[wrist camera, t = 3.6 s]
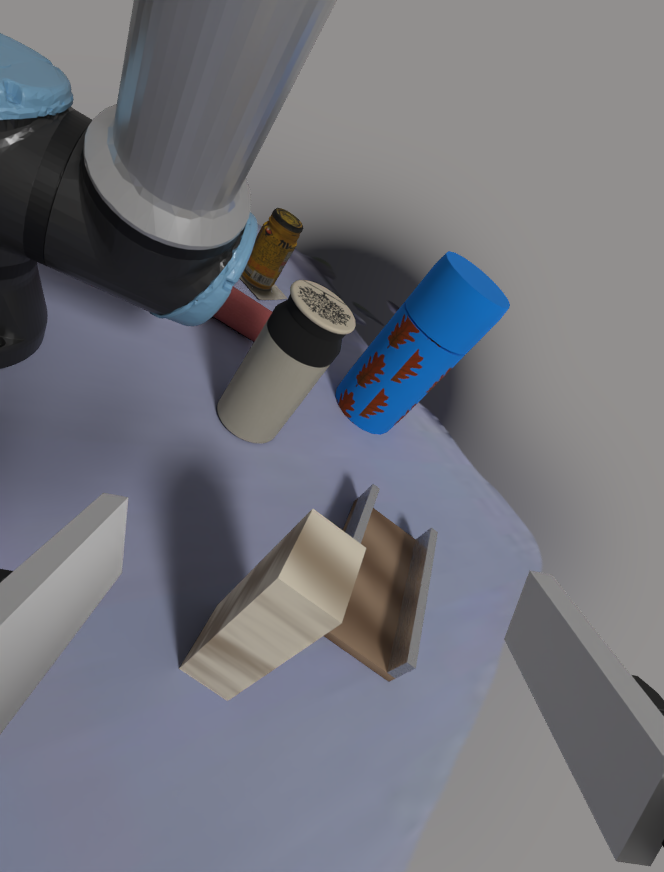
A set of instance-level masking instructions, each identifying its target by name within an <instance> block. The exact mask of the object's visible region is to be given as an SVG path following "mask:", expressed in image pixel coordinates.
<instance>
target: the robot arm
mask: <svg viewBox="0 0 664 872" xmlns="http://www.w3.org/2000/svg"><path fill="white" fill-rule="evenodd" d="M336 1H337V0H134V3H133V9H132V16H131V21H130V27H129V34H128V40H127V46H126V52H125V58H124V64H123V70H122V77H121V82H120V88H119V94H118V100H117V104H116V105H113V106H111V107H108V108H106V109H105V110H103V111H102V112H100V113H99V114H98V115H97V116H96V117H95V118H94V119H93V120H92V119H90V118H88V117H86V116H85V115H83V114H81V113H79V112H78V111H76V110H75V109H73V108H72V107H71V105H72V104H73V94H72V92H71V85H70V82H69V80H68V78H67V77H66V76H65V74H64V73H63V72H62V71H61V70H60V69H59V68H57V67H55V66H53V65H52V63H51V62H50V61H49V60H48V59H47V58H45V57H44V56H42V55H40V54H39V53H38V52H36V51H34V50H33V49H31V48H29V47H27V46H25V45H24V44H22V43H20V42H18V41H16V40H14V39H12V38H10V37H7V36H5V35H3V34H1V33H0V369H1V368H5V367H8V366H11V365H14V364H17V363H19V362H21V361H23V360H25V359H26V358H28V357H29V356H31V355H32V354H33V353H34V352H35V351H36V350H37V349H38V348H39V346H40V345H41V343H42V341H43V338H44V333H45V329H46V325H47V307H46V302H45V298H44V294H43V289H42V285H41V280H40V276H39V271H38V267H37V262H39V263H41V264H43V265H46V266H48V267H50V268H52V269H55V270H57V271H59V272H62V273H64V274H66V275H68V276H71V277H73V278H75V279H77V280H80V281H82V282H84V283H86V284H89V285H91V286H93V287H96V288H98V289H100V290H102V291H105V292H107V293H109V294H111V295H114V296H116V297H118V298H120V299H122V300H125V301H127V302H129V303H131V304H133V305H136V306H138V307H140V308H142V309H144V310H146V311H149V312H150V313H151V314H152V315H154V316H156V317H158V318H167V319H169V320H172V321H175V322H177V323H180V324H182V325H185V326H197V325H200V324H203V323H205V322H206V321H207V320H209V319H210V318H211V317H212V316H213V315H214V314H215V313H216V312H217V311H218V310H219V309H220V308H221V306H222V305H223V304H224V302H225V301H226V300H227V298H228V297H229V295H230V293H231V290H232V286H233V285H234V284H235V283H237V281H238V280H239V278H240V276H241V275H242V273H243V271H244V269H245V267H246V265H247V262H248V260H249V258H250V255H251V253H252V250H253V247H254V243H255V240H256V236H257V228H258V226H257V220H256V218H255V217H254V215H253V214H252V213H251V212H250V209H251V195H250V190H249V185H248V182H247V179H246V176H247V174H248V172H249V170H250V168H251V167H252V165H253V163H254V161H255V159H256V157H257V155H258V153H259V151H260V149H261V147H262V145H263V143H264V141H265V139H266V137H267V135H268V133H269V131H270V129H271V127H272V125H273V124H274V122H275V120H276V118H277V116H278V114H279V112H280V110H281V108H282V106H283V104H284V102H285V100H286V98H287V96H288V94H289V93H290V91H291V89H292V87H293V85H294V83H295V81H296V79H297V77H298V75H299V73H300V71H301V69H302V67H303V65H304V63H305V61H306V59H307V57H308V55H309V53H310V52H311V50H312V48H313V46H314V44H315V42H316V40H317V38H318V36H319V34H320V32H321V30H322V28H323V26H324V24H325V22H326V20H327V18H328V17H329V15H330V13H331V10H332V9H333V7H334V5H335V3H336ZM127 506H128V497H123V496H118V495H112V494H107V493H103V494H102V495H100V496H99V497H98V498H97V499H96V500H95V501H94V502H92V503H91V504H90V505H89V506H88V507H87V508H86V509H84V510H83V511H82V512H81V513H80V514H79V515H78V516H76V517H75V518H74V519H73V520H72V521H71V522H69V523H68V524H67V525H66V526H65V527H64V528H63V529H61V530H60V531H59V532H58V533H57V534H56V535H55V536H53V537H52V538H51V539H50V540H49V541H48V542H47V543H45V544H44V545H43V546H42V547H41V548H40V549H38V550H37V551H36V552H35V553H34V554H33V555H32V556H30V557H29V558H28V559H27V560H26V561H25V562H24V563H22V564H21V565H20V566H19V567H18V568H17V569H16V570H14V571H9V570H3V569H0V734H1V733H2V732H3V730H4V729H5V728H6V726H7V725H8V724H9V722H10V721H11V720H12V718H13V717H14V716H15V714H16V713H17V712H18V710H19V709H20V708H21V706H22V705H23V704H24V702H25V701H26V700H27V698H28V697H29V696H30V694H31V693H32V692H33V690H34V689H35V688H36V686H37V685H38V684H39V682H40V681H41V680H42V678H43V677H44V676H45V674H46V673H47V672H48V670H49V669H50V668H51V666H52V665H53V664H54V662H55V661H56V660H57V658H58V657H59V656H60V654H61V653H62V652H63V650H64V649H65V648H66V646H67V645H68V644H69V642H70V641H71V640H72V638H73V637H74V636H75V634H76V633H77V632H78V631H79V629H80V628H81V627H82V625H83V624H84V623H85V621H86V620H87V619H88V617H89V616H90V615H91V613H92V612H93V611H94V609H95V608H96V607H97V605H98V604H99V603H100V601H101V600H102V599H103V597H104V596H105V595H106V593H107V592H108V591H109V589H110V588H111V587H112V585H113V584H114V583H115V581H116V580H117V579H118V577H119V576H120V575H121V573H122V564H123V552H124V541H125V529H126V517H127ZM504 640H505V642H506V644H507V645H508V647H509V649H510V651H511V653H512V655H513V657H514V659H515V661H516V663H517V665H518V667H519V669H520V671H521V673H522V675H523V677H524V679H525V681H526V683H527V685H528V687H529V689H530V691H531V693H532V695H533V697H534V699H535V701H536V703H537V705H538V707H539V709H540V711H541V713H542V715H543V717H544V719H545V721H546V723H547V725H548V727H549V729H550V731H551V733H552V735H553V737H554V739H555V741H556V743H557V745H558V747H559V749H560V751H561V753H562V755H563V757H564V759H565V761H566V763H567V765H568V767H569V769H570V771H571V772H572V775H573V777H574V778H575V781H576V782H577V784H578V786H579V788H580V790H581V792H582V794H583V796H584V798H585V800H586V802H587V804H588V806H589V808H590V810H591V812H592V814H593V816H594V818H595V820H596V822H597V824H598V826H599V828H600V830H601V832H602V834H603V836H604V838H605V840H606V842H607V844H608V846H609V848H610V850H611V852H612V854H613V856H614V858H615V860H616V861H618V862H625V863H631V864H639V865H645V866H651V864H652V863H653V861H654V859H655V857H656V856H657V854H658V852H659V851H660V849H661V847H662V845H663V847H664V700H663V699H662V698H661V696H660V695H659V694H658V693H657V692H656V691H655V690H654V689H652V688H651V687H650V686H649V685H648V684H646V683H645V682H644V681H643V680H642V679H640V678H639V677H638V676H634V675H631V674H630V673H629V672H628V670H627V669H626V668H625V667H624V665H623V664H622V663H621V662H620V660H619V659H618V658H617V656H616V655H615V654H614V653H613V651H612V650H611V649H610V648H609V646H608V645H607V644H606V643H605V641H604V640H603V639H602V638H601V636H600V635H599V634H598V632H597V631H596V630H595V629H594V627H593V626H592V625H591V624H590V622H589V621H588V620H587V618H586V617H585V616H584V615H583V614H582V612H581V611H580V610H579V608H578V607H577V606H576V605H575V603H574V602H573V601H572V599H571V598H570V597H569V596H568V594H566V592H565V591H564V589H563V588H562V587H561V586H560V585H559V583H558V582H557V580H556V579H555V578H554V577H553V575H551V574H546V573H540V572H535V571H529V574H528V576H527V579H526V582H525V585H524V587H523V590H522V593H521V595H520V598H519V601H518V603H517V606H516V609H515V611H514V614H513V617H512V619H511V622H510V625H509V628H508V630H507V633H506V636H505V638H504Z"/></svg>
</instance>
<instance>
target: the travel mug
mask: <svg viewBox="0 0 664 872" xmlns="http://www.w3.org/2000/svg"><path fill="white" fill-rule="evenodd" d="M290 293H291V294H290V296H289V298H288V300H286V301H284V302H282V303H280V304H278V305H277V306H276V307H275V309H274V310H273V312H272V314H271V315H270V317H269V319H268V320H267V322H266V324H265V325H264V327H263V329H262V330H261V332H260V334H259V335H258V337H257V338H256V340H255V342H254V343H253V345H252V347H251V348H250V350H249V352H248V353H247V355H246V357H245V358H244V360H243V362H242V363H241V365H240V367H239V368H238V370H237V372H236V373H235V375H234V377H233V378H232V380H231V382H230V383H229V385H228V387H227V388H226V390H225V392H224V393H223V395H222V397H221V398H220V400H219V402H218V406H217V410H218V415H219V417H220V419H221V421H222V423H223V424H224V425H225V427H226V428H227V429H228V430H229V431H230V432H232V433H233V434H234V435H236V436H237V437H239V438H241V439H243V440H245V441H248V442H252V443H266V442H269V441H271V440H272V439H274V437H275V436H276V435H277V434H278V432H279V431H280V430H281V428H282V427H283V426H284V424H285V423H286V422H287V421H288V419H289V418H290V417H291V415H292V414H293V413H294V411H295V410H296V409H297V407H298V406H299V405H300V403H301V402H302V401H303V400H304V398H305V397H306V396H307V394H308V393H309V392H310V390H311V389H312V388H313V386H314V385H315V384H316V383H317V381H318V380H319V379H320V377H321V376H322V375H323V373H324V372H325V371H326V369H327V368H328V367H329V366H330V364H331V363H332V362H333V360H334V359H335V358H336V356H337V355H338V354H339V352H340V349H341V341H342V338H343V337H344V336H345V335H346V334H349V333H351V332H352V331H353V330H354V328H355V319H354V316H353V314H352V312H351V311H350V309H349V308H348V307H347V305H346V304H345V303H344V302H343V301H342V300H341V299H340V298H339V297H338V296H336V295H335V294H334V293H332V292H331V291H330V290H328V289H326V288H325V287H323V286H321V285H319V284H317V283H314V282H311V281H307V280H298V281H295V282H294V283H293V284H292V285H291V288H290Z"/></svg>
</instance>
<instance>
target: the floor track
mask: <svg viewBox="0 0 664 872" xmlns="http://www.w3.org/2000/svg"><path fill="white" fill-rule="evenodd" d="M378 492H379V488H378V487H377V486H375V485H374V484H372V485H371V486H370V487H369V488H368V489H367V490H366V491H365V492H364V493H363V494H362V495H361V496H360V497H358V498H357V499H356V500H355V501H354V503H353V506H352V508H351V511H350V513H349V516H348V518H347V521H346V523H345V526H344V528H343V531H344V532H345V533H347V534H348V535H349V536H351V537H352V538H353V539H355V540H356V541H358V542H359V543H360V544H362V545H363V546H364V547H366V551H365V554H364V557H363V560H362V563H361V566H360V569H359V572H358V575H357V578H356V581H355V584H354V587H353V590H352V593H351V597H350V600H349V603H348V606H347V609H346V612H345V615H344V618H343V621H342V624H340V625H339V626H337V627H336V628H334V629H333V630H331V631H330V632H328V633H327V634H325V635H324V637H326V638H327V639H329V640H330V641H332V642H333V643H334V644H336V645H337V646H339V647H340V648H342V649H343V650H344V651H346V652H347V653H349V654H350V655H352V656H353V657H354V658H356V659H357V660H359V661H360V662H362V663H363V664H364V665H366V666H367V667H369V668H370V669H371V670H373V671H374V672H376V673H377V674H379V675H380V676H381V677H383V678H384V679H386V680H387V681H391V680H393V679H395V678H397V677H399V676H401V675H403V674H405V673H407V672H409V671H411V670H414V669H416V663H417V657H418V651H419V644H420V638H421V632H422V626H423V620H424V614H425V607H426V601H427V595H428V589H429V583H430V577H431V570H432V564H433V558H434V552H435V546H436V540H437V533H438V532H436V531H435V530H434V529H432V528H430V529H429V530H428V531H426V532H425V533H424V534H422V535H421V536H420V537H418V538H417V539H416V540H415V539H414V538H413V537H411V536H410V535H409V534H407V533H406V532H405V531H403V530H402V529H401V528H399V527H398V526H397V525H395V524H394V523H393V522H391V521H390V520H389V519H387V518H386V517H385V516H383V515H382V514H381V513H379V512H378V511H377V510H375V509H374V508H373V507H374V504H375V501H376V498H377V495H378Z"/></svg>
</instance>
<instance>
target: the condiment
mask: <svg viewBox="0 0 664 872" xmlns="http://www.w3.org/2000/svg"><path fill="white" fill-rule="evenodd" d="M302 230H303V225H302V223H301V222H300V221H299V219H297V218H296V217H295V216H294V215H293V214H291V213H290V212H288V211H286V210H284V209H281V208H276V209H275V210H274V211H273V213H272V215H271V217H269V221H267V222H265V223H264V224H263V226H262V228H261V230H260V231H259V233H258V235H257V237H256V240H255V243H254V247H253V250H252V253H251V255H250V258H249V260H248V262H247V265H246V267H245V269H244V271H243V273H242V275H241V276H240V279H241V280H242V281H243V282H244V283H245V284H246V285H247V286H248V288H249V289H250V290H251V291H252V292H253V293H254V294H255V295H256V296H257V297H258V299H259V300H278V299H287V298H286V297H285V295H284V294H283V293H282V292H281V290H279V289H278V287H277V286H276V285H275V282H276V280H277V278H278V277H279V275H280V273H281V272H282V269H283V268H284V266H285V264H286V263H287V261H288V259H289V258H290V256H291V254H292V253H293V251H294V249H295V247H296V245H297V239H298V238H299V235H300V233H301V232H302ZM252 287H253V288H252ZM271 290H272V292H271Z"/></svg>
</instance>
